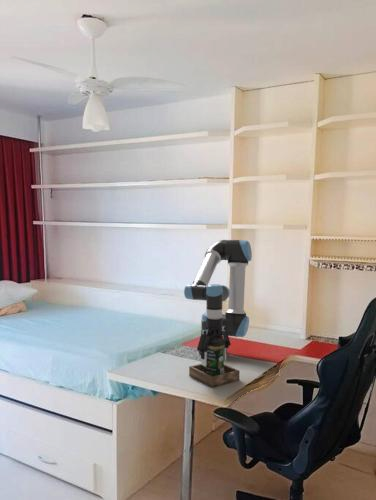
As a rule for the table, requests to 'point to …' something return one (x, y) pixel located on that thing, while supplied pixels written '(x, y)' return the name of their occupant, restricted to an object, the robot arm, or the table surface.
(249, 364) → the table surface
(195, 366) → the walnut tray
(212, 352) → the coffee jar
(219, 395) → the table surface
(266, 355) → the table surface
